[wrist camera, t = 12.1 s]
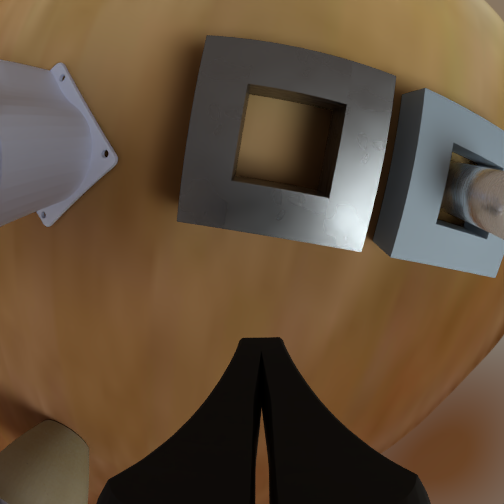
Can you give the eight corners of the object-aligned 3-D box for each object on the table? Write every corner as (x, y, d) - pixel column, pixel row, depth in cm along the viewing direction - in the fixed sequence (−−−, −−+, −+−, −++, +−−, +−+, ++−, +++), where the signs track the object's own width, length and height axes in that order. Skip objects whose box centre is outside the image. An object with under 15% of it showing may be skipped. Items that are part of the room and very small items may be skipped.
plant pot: (25, 381, 25) (-37, 472, 10) (127, 449, 28) (93, 554, 13) (20, 422, 29) (-21, 491, 14) (98, 474, 32) (72, 549, 17)
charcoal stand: (189, 209, 18) (176, 221, 15) (214, 52, 15) (206, 35, 12) (346, 236, 18) (361, 252, 16) (375, 85, 15) (396, 76, 12)
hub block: (372, 241, 19) (390, 257, 16) (402, 94, 15) (425, 87, 12) (473, 262, 19) (495, 277, 16) (501, 143, 16) (526, 146, 13)
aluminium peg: (420, 195, 17) (485, 223, 11) (440, 150, 16) (510, 160, 10) (452, 219, 18) (516, 252, 11) (471, 177, 17) (538, 196, 10)
